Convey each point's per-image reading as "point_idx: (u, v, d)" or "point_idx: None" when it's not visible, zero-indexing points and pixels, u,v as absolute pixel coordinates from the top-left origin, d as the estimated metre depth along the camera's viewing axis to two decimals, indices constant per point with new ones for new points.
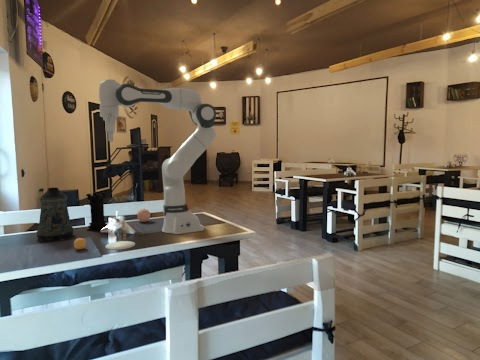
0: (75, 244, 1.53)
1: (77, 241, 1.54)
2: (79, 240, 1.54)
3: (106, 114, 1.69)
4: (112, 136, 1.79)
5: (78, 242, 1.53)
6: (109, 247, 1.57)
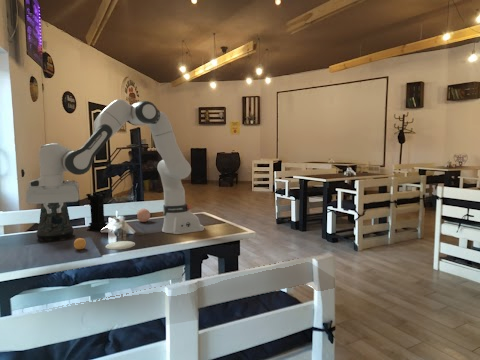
0: (75, 244, 1.53)
1: (77, 241, 1.54)
2: (79, 240, 1.54)
3: (62, 183, 1.50)
4: None
5: (78, 242, 1.53)
6: (109, 247, 1.57)
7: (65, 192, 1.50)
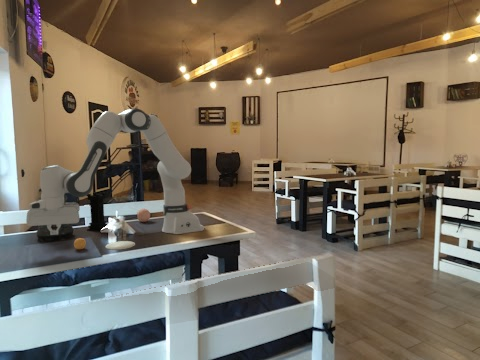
0: (75, 244, 1.53)
1: (77, 241, 1.54)
2: (79, 240, 1.54)
3: (63, 205, 1.51)
4: (51, 228, 1.52)
5: (78, 242, 1.53)
6: (109, 247, 1.57)
7: (66, 213, 1.51)
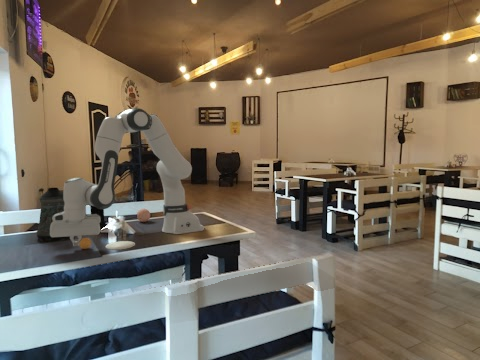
0: (81, 242, 1.54)
1: (85, 240, 1.54)
2: (87, 240, 1.55)
3: (85, 216, 1.54)
4: (73, 239, 1.55)
5: (85, 242, 1.54)
6: (109, 247, 1.57)
7: (88, 225, 1.55)
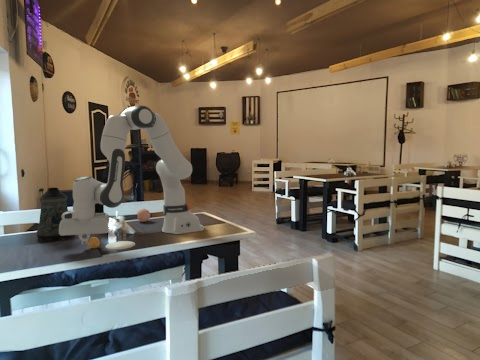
0: (92, 240, 1.55)
1: (96, 240, 1.56)
2: (97, 241, 1.56)
3: (94, 215, 1.55)
4: None
5: (95, 242, 1.55)
6: (109, 247, 1.57)
7: (96, 224, 1.55)
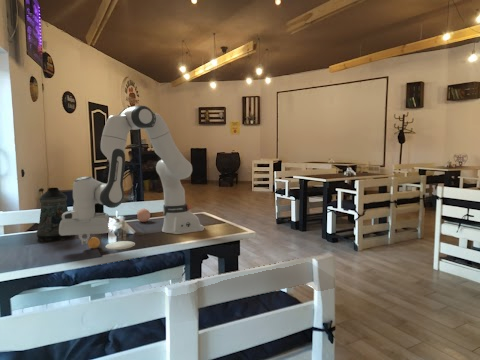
0: (92, 240, 1.55)
1: (96, 240, 1.56)
2: (97, 241, 1.56)
3: (94, 215, 1.55)
4: None
5: (95, 242, 1.55)
6: (109, 247, 1.57)
7: (97, 224, 1.55)
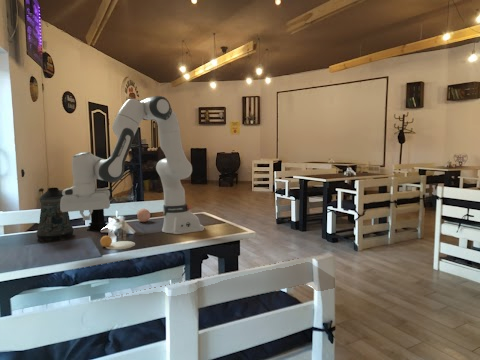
0: (110, 242, 1.58)
1: (108, 245, 1.58)
2: (106, 246, 1.58)
3: (94, 191, 1.54)
4: (83, 214, 1.56)
5: (107, 244, 1.57)
6: (109, 247, 1.57)
7: (98, 199, 1.55)
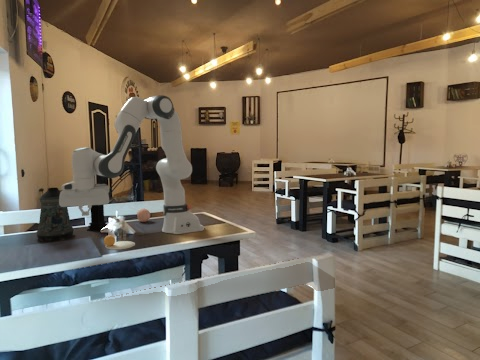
0: (112, 243, 1.59)
1: (109, 245, 1.58)
2: (107, 245, 1.58)
3: (94, 186, 1.54)
4: (82, 209, 1.55)
5: (109, 243, 1.58)
6: (109, 247, 1.57)
7: (97, 195, 1.55)
